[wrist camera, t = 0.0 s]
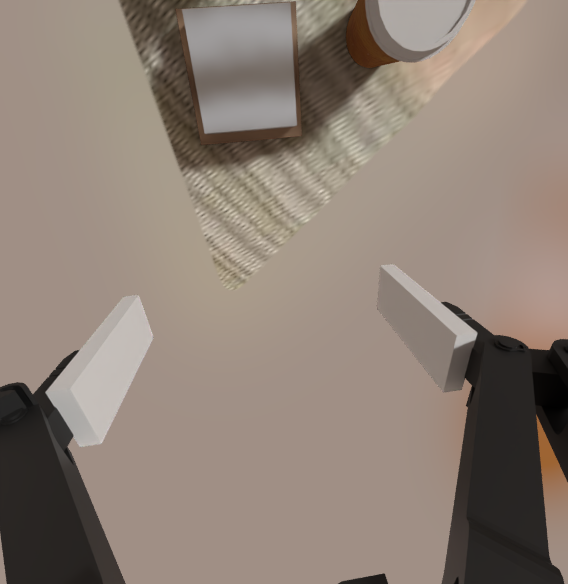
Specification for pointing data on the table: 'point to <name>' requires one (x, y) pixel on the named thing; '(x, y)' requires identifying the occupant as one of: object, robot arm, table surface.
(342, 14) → the table surface
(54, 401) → the robot arm
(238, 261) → the table surface
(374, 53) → the disposable coffee cup
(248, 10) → the plinth
